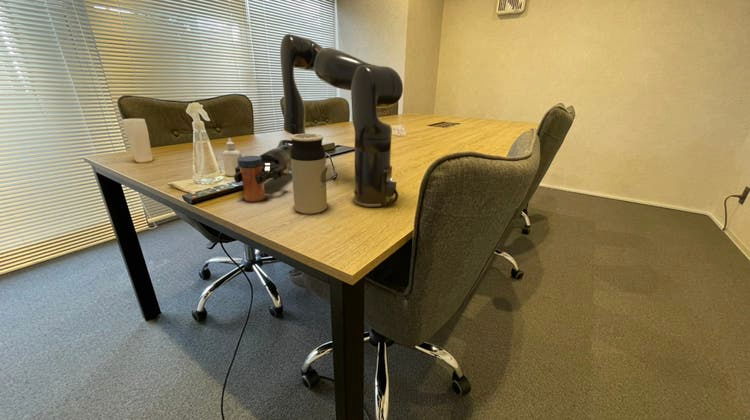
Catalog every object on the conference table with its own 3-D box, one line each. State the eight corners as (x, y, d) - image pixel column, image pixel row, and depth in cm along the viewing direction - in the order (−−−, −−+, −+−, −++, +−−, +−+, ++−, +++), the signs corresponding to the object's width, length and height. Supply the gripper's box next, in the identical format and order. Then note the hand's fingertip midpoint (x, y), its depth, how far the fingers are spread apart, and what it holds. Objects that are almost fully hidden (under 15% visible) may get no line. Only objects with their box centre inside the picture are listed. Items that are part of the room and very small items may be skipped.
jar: (269, 195, 83) (264, 158, 79) (257, 202, 78) (252, 163, 74) (253, 193, 84) (247, 156, 80) (240, 200, 80) (234, 161, 75)
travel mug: (288, 211, 74) (281, 137, 67) (306, 200, 81) (302, 132, 74) (316, 217, 72) (312, 140, 65) (332, 205, 79) (330, 135, 71)
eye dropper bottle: (235, 178, 97) (229, 140, 92) (223, 175, 100) (217, 138, 95) (246, 175, 101) (241, 138, 96) (235, 172, 103) (229, 136, 98)
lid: (266, 162, 79) (266, 156, 79) (253, 168, 74) (252, 162, 74) (248, 160, 81) (247, 154, 80) (233, 166, 76) (232, 159, 75)
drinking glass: (128, 162, 110) (115, 120, 104) (144, 158, 116) (133, 118, 110) (144, 164, 109) (133, 121, 103) (160, 159, 115) (149, 118, 109)
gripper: (249, 149, 91) (217, 163, 76) (296, 151, 90) (273, 166, 74) (253, 173, 94) (223, 192, 79) (298, 175, 93) (276, 195, 77)
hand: (247, 179), depth 77 cm, fingers closed on jar, 5 cm apart
